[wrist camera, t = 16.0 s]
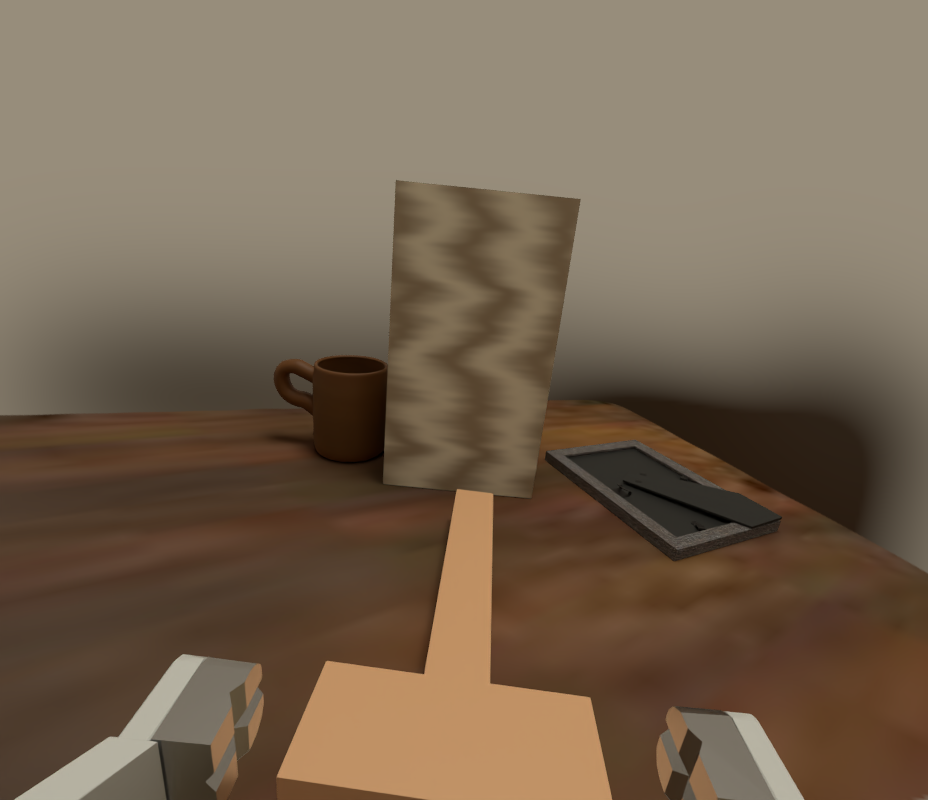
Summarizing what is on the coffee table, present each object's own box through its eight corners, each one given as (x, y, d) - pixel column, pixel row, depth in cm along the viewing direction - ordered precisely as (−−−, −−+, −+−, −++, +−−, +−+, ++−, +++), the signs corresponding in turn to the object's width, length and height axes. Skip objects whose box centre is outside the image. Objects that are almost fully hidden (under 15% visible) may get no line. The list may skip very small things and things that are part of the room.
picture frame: (775, 535, 43) (632, 451, 58) (782, 517, 42) (636, 436, 57) (672, 566, 37) (544, 463, 52) (678, 545, 36) (546, 447, 51)
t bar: (402, 482, 38) (400, 524, 40) (276, 777, 16) (278, 853, 18) (548, 500, 38) (540, 542, 39) (618, 827, 16) (596, 902, 17)
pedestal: (382, 483, 44) (395, 180, 35) (402, 433, 55) (415, 194, 46) (531, 498, 44) (580, 199, 35) (520, 444, 55) (555, 208, 46)
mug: (259, 453, 47) (253, 363, 44) (292, 425, 54) (290, 346, 51) (375, 469, 46) (378, 378, 43) (393, 438, 53) (397, 359, 50)
